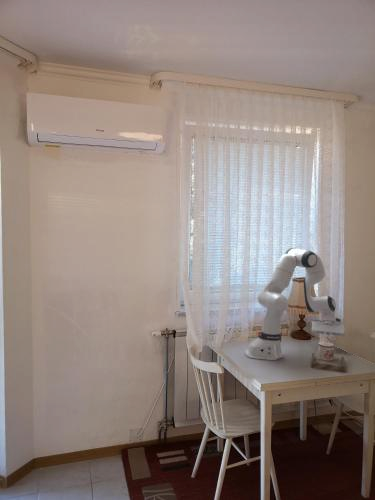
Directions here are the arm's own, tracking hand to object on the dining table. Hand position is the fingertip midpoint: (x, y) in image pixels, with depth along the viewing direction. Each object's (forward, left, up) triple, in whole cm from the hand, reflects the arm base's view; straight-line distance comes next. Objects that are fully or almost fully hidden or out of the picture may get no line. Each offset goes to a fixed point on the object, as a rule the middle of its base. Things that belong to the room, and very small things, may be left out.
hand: (327, 339), depth 230 cm
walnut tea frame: (-8, -23, -8) cm, 26 cm away
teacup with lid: (-5, -13, -8) cm, 16 cm away
